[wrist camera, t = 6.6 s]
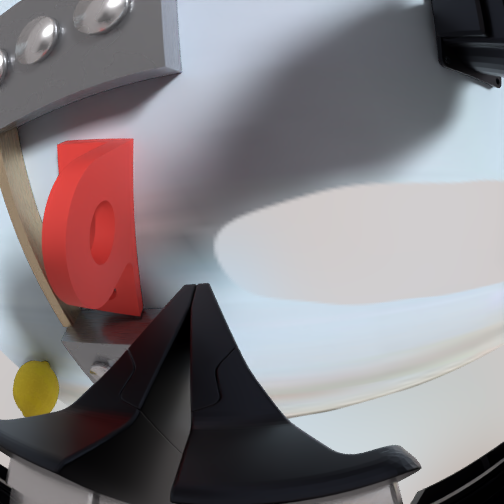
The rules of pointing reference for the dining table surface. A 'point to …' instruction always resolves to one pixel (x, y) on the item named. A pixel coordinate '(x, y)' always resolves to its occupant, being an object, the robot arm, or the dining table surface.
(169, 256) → the dining table surface
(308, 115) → the dining table surface
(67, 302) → the bracket
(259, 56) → the dining table surface
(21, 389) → the lemon
